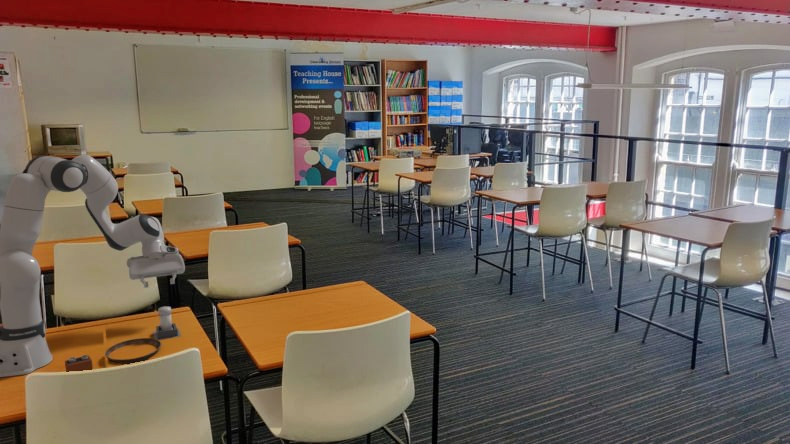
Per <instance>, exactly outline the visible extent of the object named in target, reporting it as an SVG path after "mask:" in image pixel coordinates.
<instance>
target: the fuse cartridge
mask: <svg viewBox="0 0 790 444" xmlns="http://www.w3.org/2000/svg"><path fill="white" fill-rule="evenodd" d="M157 311H158V316H159V326H160V327H161V329H160V331H165V330H171V329H173V328H172V324H173V322H172V321H173V320H172V307H171V306H161V307H158V309H157Z"/></svg>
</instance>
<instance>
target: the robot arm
mask: <svg viewBox="0 0 790 444" xmlns="http://www.w3.org/2000/svg"><path fill="white" fill-rule="evenodd" d="M79 189H80V191H82V192H83V193H84V195H85V197H86V199H85V200H84V205H85V208H86V211H87V212H88V214H89V215H90V217H91V218H92V220H93V222H94V223H95V225H96V226H97V228H98V229H99V230H100V232H101V234H102V235H103V237H104V239H105V241H106V243H107V245H108V246H109V247H110V248H111V249H114V251H115V250H116V251H119V252H120V251H121V252H122V251H124V250H125V249H127V248H129V247H131V246H134V245H136V244H138V243H141V245H142V246H141V253H142V255H139V256H131V257H129V258H128V259H127V260H126V266H127V267H128V274H129V277H128V278H129V279H131V280H132V281H133V280H139V282H141V283H142V284H143V287H144V289H145V288H147V289H148V288H149V282H148V281H146V280H145V279H148V278H156V277H157V278H158V277H165V276H172V278H169V279H170V280H169V282H170V285H175V283H176V282H175V279H176V278H177V275H181V274H184V273H185V271H186V265H185V261H184V259H183V257H182V255H181V254H180V252H179V248H178V247H177V246H169V245H166V244H165V242H164V241H165V234H164V231H163V227H162V224H161V223H160V220H159V219H158V218H157V217H154V216H150V215H147V214H144V213H141V214H138V215H136V216H135V215H134V216H133V217H131V218H129V219H126V220H123V221H121V222H120V223H114V222H112V220H111V219H110V217H109V216H108V215H107V212H106V211H105V210H106V208H108V206H109V205H110V204H112V203H113V201H114V200H115V199H116V197H117V195H118V192H119V184H118V181H117V180H116V179H115V177H114V176H113V175H112V174H111V173H110V172H109V170H108V169H107V168H105V166H104V165H102V163H100V162H99V161H98V160H96V159H95V158H94V157H92V156H91V155H88V154H80V155H77V156H74V157H73V158H72V159H71V160H69V159H66V158H62V157H60V156H55V155H54V156H51V155H46V154H45V155H44V154H43V155H37V156H35V157H33V158H31V159H30V160H29V161H28V163H27V164H26V166H25V168H24V169H23V171H22V173H18V174H16V175H14V176H13V178H11V181H10V183H9V185H8V187H7V190H6V196H5V198H4V203H3V210H2V215H1V221H0V222H1V223H0V315H1V322H2V323H0V378H3V377H13V376H21V375H27V374H30V373H32V372H33V371H35V370H38V369H40V368H43V367H44V366H47V365H48V364H50V363H52V361H53V359H54V357H53V355H52V353H51V351H50V349H49V345H48V342H47V339H46V334H47V333H46V326H45V325H46V324H45V321H44V319H43V318H42V307H41V303H40V286H41V282H40V280H41V278H40V277H41V274H42V273H41V272H42V271H41V266H40V264H39V262H38V260H37V259H36V258H35V257H34V256H33V250H34V248H35V244H36V242H37V239H38V237H39V236H40V235H41V230H42V224H43V219H44V212H45V206H46V205H45V204H46V203H45V202H46V199H47V196H48V194H49V193H50V192H51V191H55V192H61V193H73V192H75V191H77V190H79Z"/></svg>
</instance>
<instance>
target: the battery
mask: <svg viewBox="0 0 790 444" xmlns="http://www.w3.org/2000/svg"><path fill="white" fill-rule="evenodd" d="M64 367H65V373H66V372H69V371H83V370H92V369H93V370H94V366H93V360H92V358H91V356H90V355H87V354H85V355H82V356H80V357H70V358H68V359H66V360H65V361H64Z"/></svg>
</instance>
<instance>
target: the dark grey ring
mask: <svg viewBox="0 0 790 444" xmlns="http://www.w3.org/2000/svg"><path fill="white" fill-rule="evenodd" d="M137 344H138V345H139V344H140V345H141V344H149V345H153V346H156V347H157V349H156V350H154V351H152V352H150V353H148V354H145V355H142V356H138V357H135V358H125V359H119V358H118V359H117V358H111V357H110V354H111V353H113V352H114V351H116V350H118V349H120V348H123V347H127V346H132V345H137ZM161 347H162V342H161V340H156V339H155V338H149V337H141V338H140V337H139V338H131V339H128V340H125V341H122V342H118V343H116V344H113V345H112V346H110V347H109V348H108V349H107V350H106V351H105V357H106V358H107V359H108V360H109V361H111V362H115V363H119V364H121V365H123V366H124V364H127V365H131V364H130V363H135V362H140V361H143V362H145V360H146V361H148V360H149V359H150V357H153V356H154V355H157V353H158V352H159V351H160V349H161ZM140 363H141V362H140Z"/></svg>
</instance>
